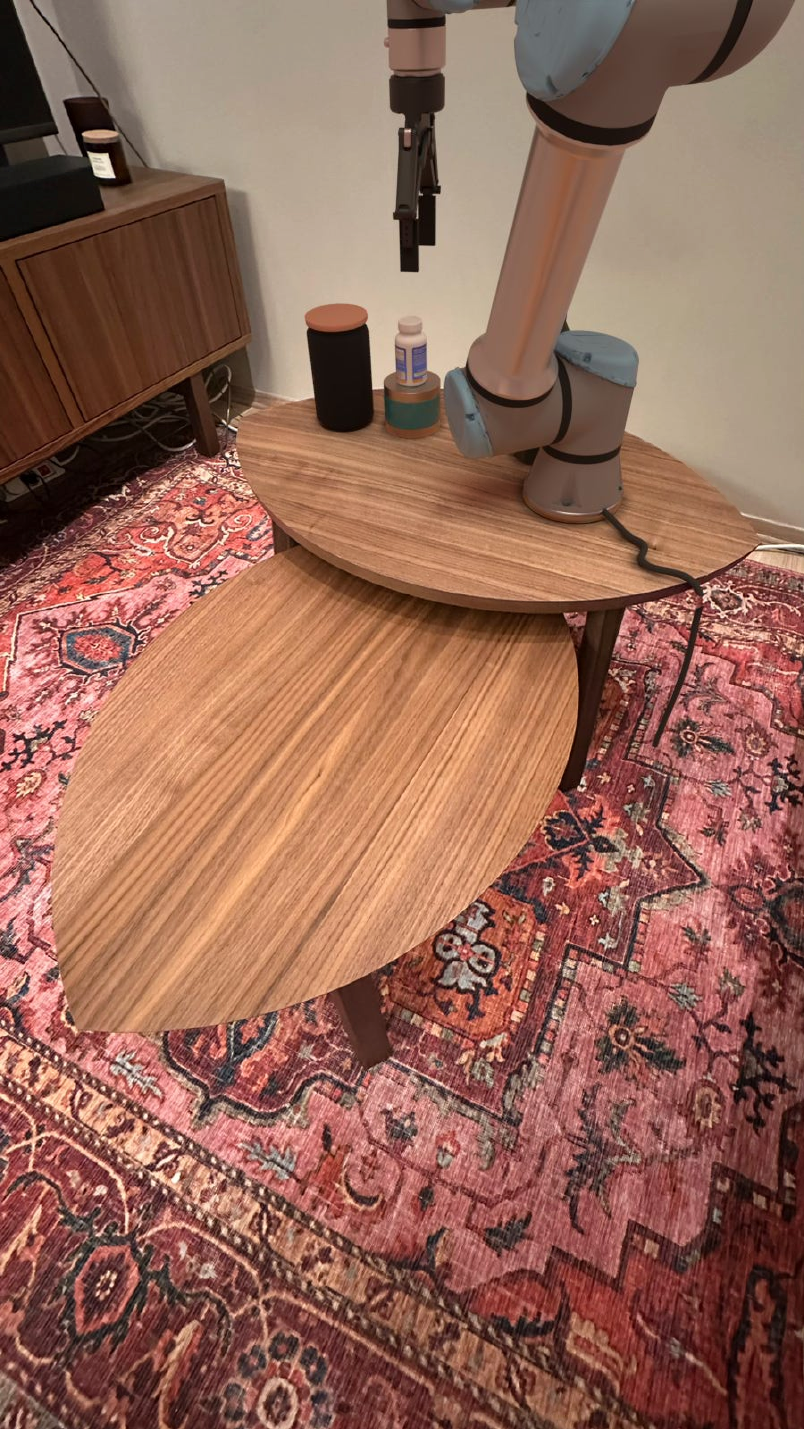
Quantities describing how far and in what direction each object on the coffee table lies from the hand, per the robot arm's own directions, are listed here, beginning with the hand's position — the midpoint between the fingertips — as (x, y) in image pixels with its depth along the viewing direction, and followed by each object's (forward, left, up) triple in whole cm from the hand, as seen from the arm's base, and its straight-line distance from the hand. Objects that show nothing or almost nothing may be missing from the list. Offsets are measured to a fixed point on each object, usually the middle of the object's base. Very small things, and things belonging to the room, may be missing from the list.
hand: (418, 258), depth 107 cm
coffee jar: (+8, +12, -26) cm, 30 cm away
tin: (0, +2, -26) cm, 26 cm away
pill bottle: (0, +2, -18) cm, 18 cm away
